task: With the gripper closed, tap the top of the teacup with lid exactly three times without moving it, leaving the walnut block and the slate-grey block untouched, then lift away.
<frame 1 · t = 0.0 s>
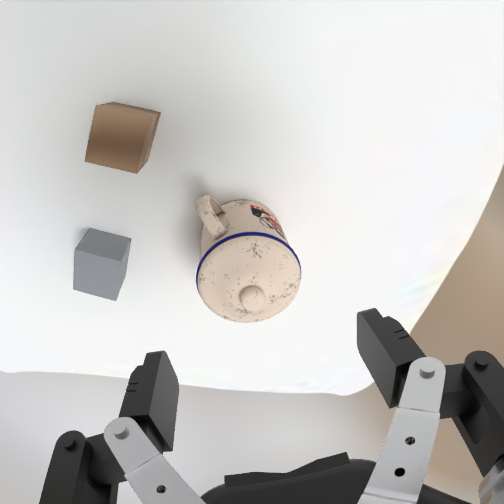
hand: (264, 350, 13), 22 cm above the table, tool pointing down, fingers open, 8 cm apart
teacup with lid: (234, 225, 35), on the table
walnut block: (130, 131, 28), on the table
slate-grey block: (108, 252, 34), on the table
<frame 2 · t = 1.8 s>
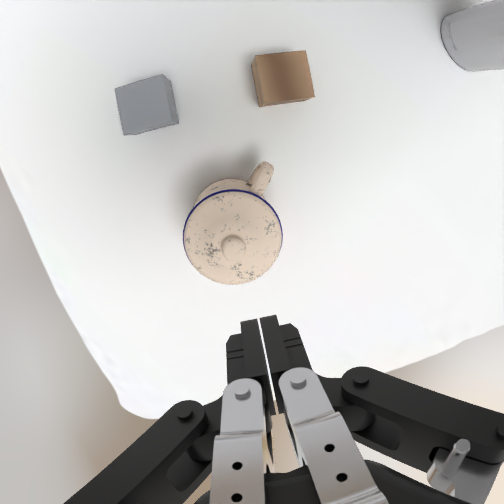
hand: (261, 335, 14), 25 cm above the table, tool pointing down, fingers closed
teacup with lid: (236, 203, 37), on the table
walnut block: (277, 83, 32), on the table
slate-grey block: (153, 107, 32), on the table
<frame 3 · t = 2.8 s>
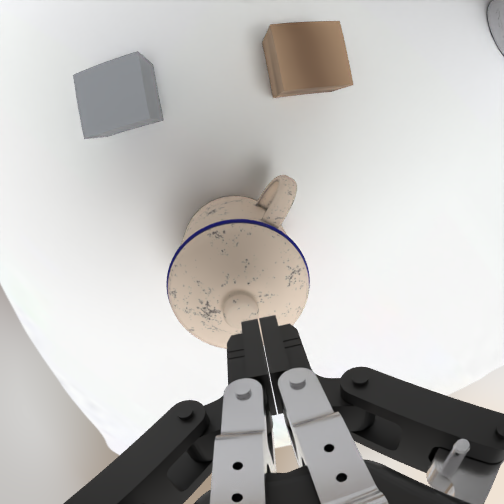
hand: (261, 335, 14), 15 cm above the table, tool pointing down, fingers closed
teacup with lid: (242, 228, 28), on the table
walnut block: (297, 66, 23), on the table
slate-grey block: (129, 100, 23), on the table
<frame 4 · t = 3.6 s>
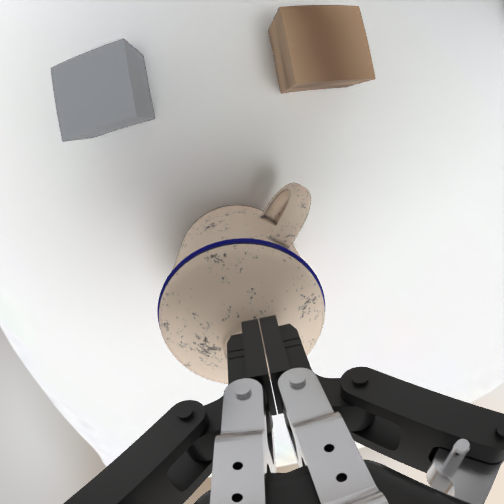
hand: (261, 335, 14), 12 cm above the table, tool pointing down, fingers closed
teacup with lid: (245, 242, 25), on the table, touching gripper
walnut block: (308, 57, 20), on the table
slate-grey block: (116, 96, 20), on the table
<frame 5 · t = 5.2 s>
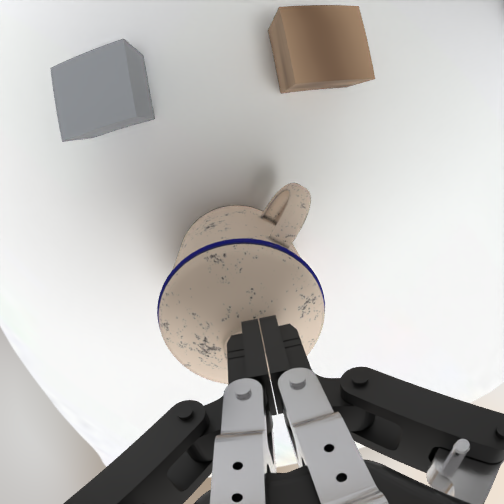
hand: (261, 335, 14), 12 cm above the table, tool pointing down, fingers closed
teacup with lid: (244, 242, 25), on the table, touching gripper
walnut block: (308, 58, 20), on the table
slate-grey block: (116, 96, 20), on the table
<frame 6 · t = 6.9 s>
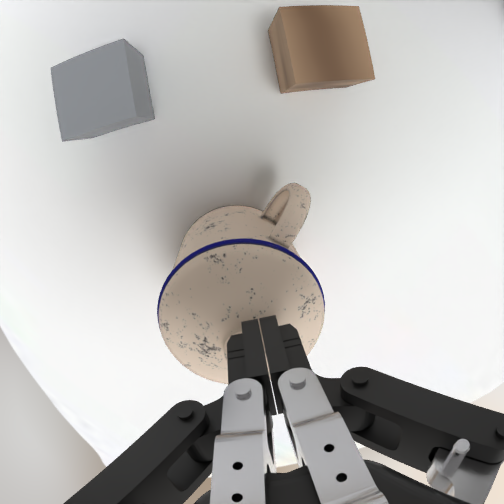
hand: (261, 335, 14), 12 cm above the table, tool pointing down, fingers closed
teacup with lid: (244, 242, 25), on the table, touching gripper
walnut block: (308, 58, 20), on the table
slate-grey block: (116, 96, 20), on the table
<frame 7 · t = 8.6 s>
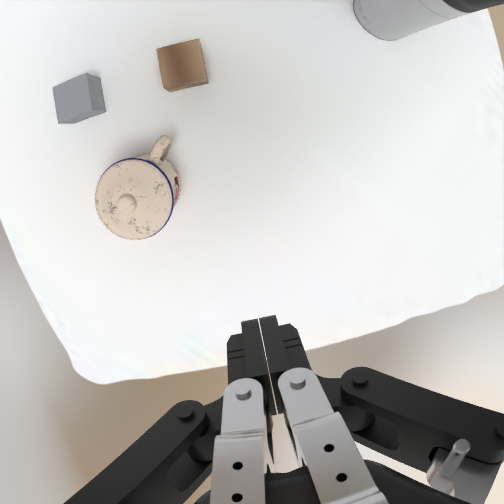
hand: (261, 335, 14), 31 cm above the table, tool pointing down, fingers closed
teacup with lid: (154, 176, 41), on the table
walnut block: (185, 70, 36), on the table
slate-grey block: (87, 100, 35), on the table
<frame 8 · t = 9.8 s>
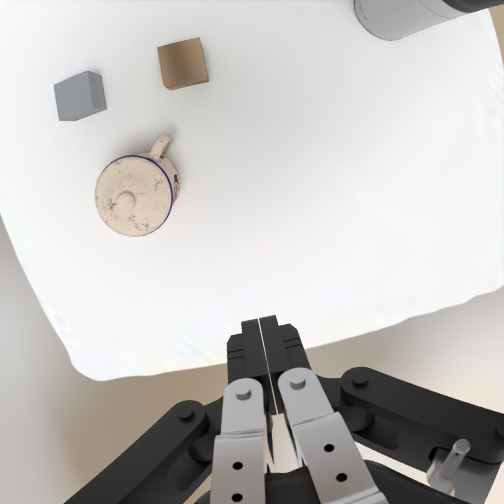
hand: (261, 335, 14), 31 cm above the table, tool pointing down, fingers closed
teacup with lid: (154, 174, 41), on the table
walnut block: (186, 68, 36), on the table
slate-grey block: (88, 98, 36), on the table
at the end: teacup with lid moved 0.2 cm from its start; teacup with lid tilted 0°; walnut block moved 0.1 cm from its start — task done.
